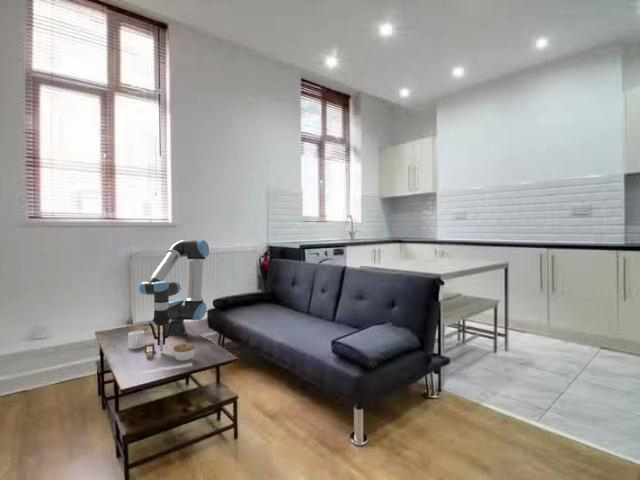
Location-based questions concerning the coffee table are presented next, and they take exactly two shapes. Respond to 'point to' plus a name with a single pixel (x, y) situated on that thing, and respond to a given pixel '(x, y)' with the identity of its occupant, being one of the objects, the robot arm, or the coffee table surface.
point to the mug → (136, 339)
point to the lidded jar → (184, 351)
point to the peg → (149, 349)
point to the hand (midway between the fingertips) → (161, 350)
